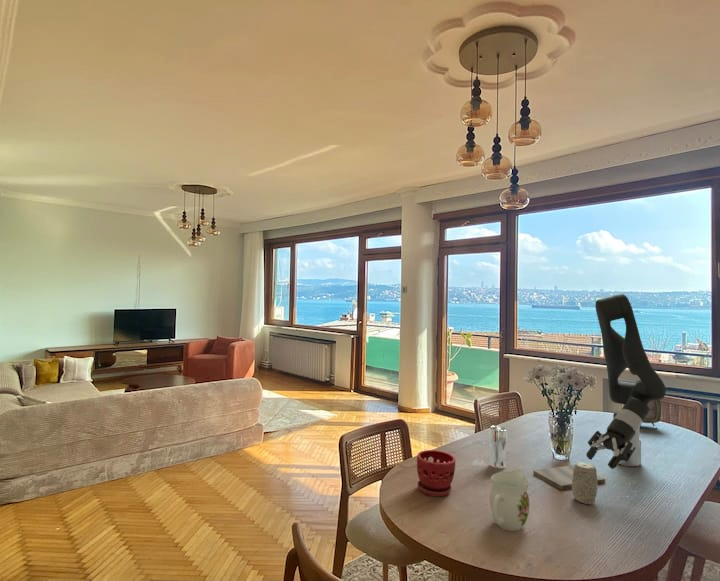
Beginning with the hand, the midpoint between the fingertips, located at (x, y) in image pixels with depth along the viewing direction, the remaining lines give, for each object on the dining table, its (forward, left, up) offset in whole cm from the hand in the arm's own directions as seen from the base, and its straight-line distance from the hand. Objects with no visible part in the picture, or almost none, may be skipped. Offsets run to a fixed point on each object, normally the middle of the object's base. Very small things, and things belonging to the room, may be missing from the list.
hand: (599, 462), depth 143 cm
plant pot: (+50, -21, -12) cm, 56 cm away
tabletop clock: (-95, -59, -12) cm, 113 cm away
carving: (+6, 0, -12) cm, 14 cm away
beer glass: (+15, -34, -12) cm, 39 cm away
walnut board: (-3, -16, -12) cm, 21 cm away
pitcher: (+41, +6, -12) cm, 43 cm away
